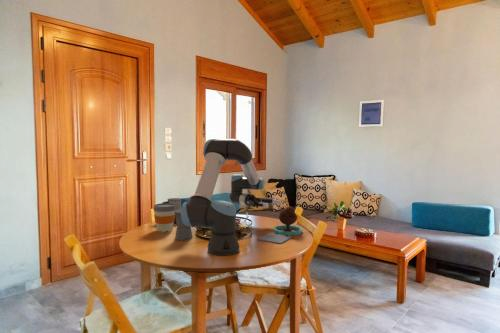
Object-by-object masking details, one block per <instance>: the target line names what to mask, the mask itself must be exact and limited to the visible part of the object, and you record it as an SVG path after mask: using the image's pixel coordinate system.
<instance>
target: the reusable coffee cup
mask: <svg viewBox="0 0 500 333" xmlns="http://www.w3.org/2000/svg"><path fill="white" fill-rule="evenodd" d="M175 210H176V207H175V204H172V203H163V202H161V203H157V204H154V205H153V212H154V216H153V217H154V224H155V226H156V231H157V232H158V231H164V232H163V233H167V232H166V231H170V232H172V231H174V224H173V223H174V221H175V214H174V213H175ZM171 230H172V231H171Z"/></svg>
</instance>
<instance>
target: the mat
mask: <svg viewBox="0 0 500 333" xmlns="http://www.w3.org/2000/svg"><path fill="white" fill-rule="evenodd" d="M292 238H293V236H286V235H279V234H276V233H271V232H267V233H266V234H264V235H263V236H260V237H258V238H256V240H257V241H261V242H267V243H271V244H279V245H282V244H284V243H285V242H288V241H289V240H290V239H292Z"/></svg>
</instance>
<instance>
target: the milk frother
mask: <svg viewBox="0 0 500 333" xmlns="http://www.w3.org/2000/svg"><path fill="white" fill-rule="evenodd" d="M162 203H172V204H175V207H176V210H179V209H181V208H182V198H179V197H174V198H173V197H172V198H167V200H166V201H163V202H162ZM176 210H175V211H176ZM173 225H175V226H176V225H177V222H176V216H175V221H174V223H173Z"/></svg>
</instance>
